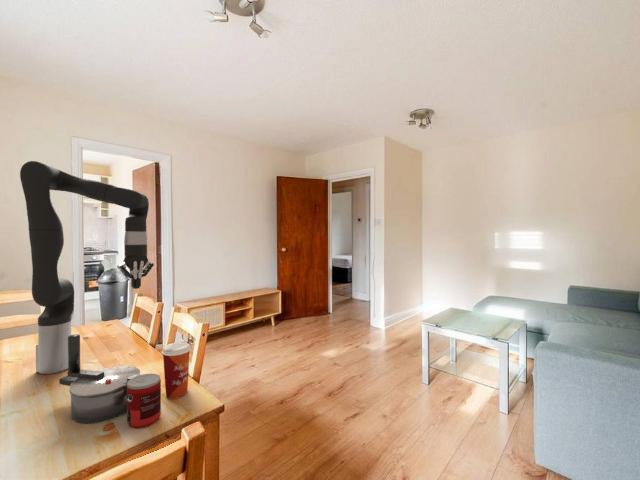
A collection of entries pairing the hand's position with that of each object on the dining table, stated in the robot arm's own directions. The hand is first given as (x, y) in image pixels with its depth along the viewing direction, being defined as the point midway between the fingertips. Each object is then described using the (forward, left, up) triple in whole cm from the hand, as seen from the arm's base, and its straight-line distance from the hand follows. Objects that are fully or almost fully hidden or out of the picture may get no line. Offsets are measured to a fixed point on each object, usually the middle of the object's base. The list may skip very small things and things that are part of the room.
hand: (136, 288), depth 118 cm
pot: (+10, -29, -29) cm, 42 cm away
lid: (+11, -29, -22) cm, 38 cm away
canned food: (+27, -34, -29) cm, 52 cm away
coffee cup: (+28, -20, -29) cm, 45 cm away
